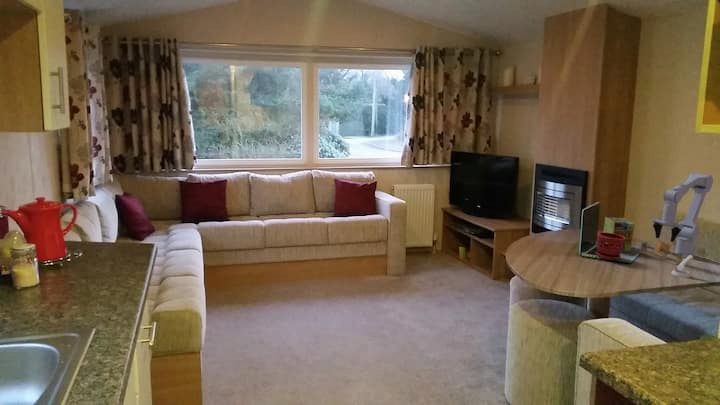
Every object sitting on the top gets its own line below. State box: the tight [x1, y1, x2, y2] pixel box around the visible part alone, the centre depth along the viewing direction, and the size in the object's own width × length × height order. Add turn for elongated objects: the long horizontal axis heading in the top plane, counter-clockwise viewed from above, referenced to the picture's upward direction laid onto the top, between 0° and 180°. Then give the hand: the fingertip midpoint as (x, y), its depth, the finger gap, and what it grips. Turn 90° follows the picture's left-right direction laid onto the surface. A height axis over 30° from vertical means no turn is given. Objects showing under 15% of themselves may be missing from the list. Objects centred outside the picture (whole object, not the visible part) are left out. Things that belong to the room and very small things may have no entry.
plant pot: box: [595, 231, 626, 261], centre depth 272 cm, size 13×13×12 cm
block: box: [652, 240, 672, 257], centre depth 276 cm, size 8×3×6 cm, turn 115°
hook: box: [671, 255, 694, 278], centre depth 249 cm, size 8×12×7 cm
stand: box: [638, 241, 684, 266], centre depth 277 cm, size 6×22×5 cm, turn 23°
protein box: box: [603, 216, 635, 252], centre depth 293 cm, size 10×15×16 cm
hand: (664, 239), depth 272 cm, fingers open, 7 cm apart
